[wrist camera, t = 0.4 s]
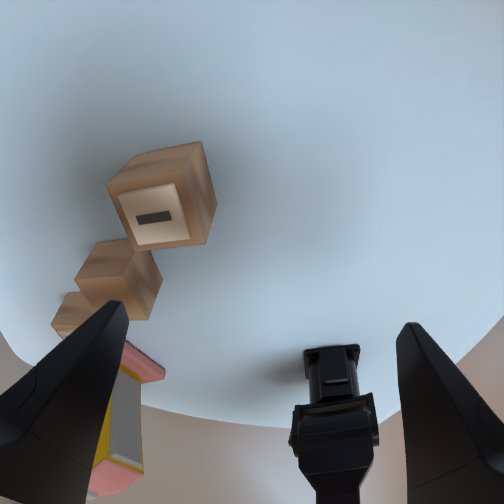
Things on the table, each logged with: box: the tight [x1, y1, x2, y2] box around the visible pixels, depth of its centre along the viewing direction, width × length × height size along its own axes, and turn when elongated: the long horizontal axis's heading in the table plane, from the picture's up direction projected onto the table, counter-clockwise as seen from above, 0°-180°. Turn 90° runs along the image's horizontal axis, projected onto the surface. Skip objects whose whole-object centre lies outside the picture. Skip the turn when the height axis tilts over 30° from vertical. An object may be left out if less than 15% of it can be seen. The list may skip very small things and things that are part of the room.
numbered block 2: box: [106, 141, 217, 252], centre depth 19 cm, size 5×5×5 cm
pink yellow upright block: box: [86, 340, 165, 500], centre depth 31 cm, size 22×9×22 cm, turn 122°
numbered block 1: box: [51, 292, 95, 340], centre depth 30 cm, size 5×5×5 cm
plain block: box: [74, 238, 163, 320], centre depth 25 cm, size 5×5×5 cm
